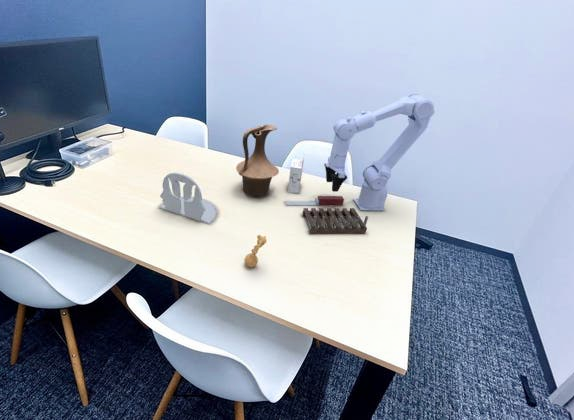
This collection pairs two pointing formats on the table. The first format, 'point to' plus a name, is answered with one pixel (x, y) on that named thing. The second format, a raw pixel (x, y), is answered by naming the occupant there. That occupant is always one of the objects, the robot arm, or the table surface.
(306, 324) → the table surface
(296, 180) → the ink cartridge box
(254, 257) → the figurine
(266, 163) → the pitcher
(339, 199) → the knife
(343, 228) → the drying rack
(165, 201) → the ornament
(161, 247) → the table surface
